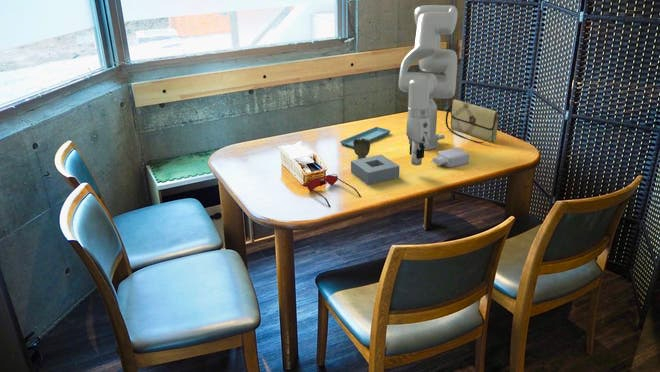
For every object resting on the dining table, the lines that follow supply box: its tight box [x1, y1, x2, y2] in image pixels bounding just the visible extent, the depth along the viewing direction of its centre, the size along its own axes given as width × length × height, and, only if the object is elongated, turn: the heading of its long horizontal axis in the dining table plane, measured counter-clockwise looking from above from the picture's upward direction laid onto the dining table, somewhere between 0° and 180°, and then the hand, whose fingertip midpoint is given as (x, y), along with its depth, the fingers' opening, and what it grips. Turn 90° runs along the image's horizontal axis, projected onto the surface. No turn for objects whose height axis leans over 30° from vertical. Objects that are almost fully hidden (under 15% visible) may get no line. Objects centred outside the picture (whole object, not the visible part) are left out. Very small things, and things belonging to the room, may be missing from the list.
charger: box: [430, 147, 470, 168], centre depth 226 cm, size 5×9×15 cm
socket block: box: [350, 154, 401, 186], centre depth 217 cm, size 14×14×5 cm
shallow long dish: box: [339, 126, 392, 149], centre depth 255 cm, size 26×9×2 cm, turn 136°
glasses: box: [305, 173, 362, 208], centre depth 202 cm, size 14×16×5 cm
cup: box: [353, 138, 372, 159], centre depth 233 cm, size 8×7×8 cm
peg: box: [410, 139, 423, 166], centre depth 214 cm, size 4×4×10 cm
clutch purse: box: [445, 98, 500, 144], centre depth 252 cm, size 30×7×15 cm, turn 34°
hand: (416, 155), depth 214 cm, fingers closed on peg, 4 cm apart
